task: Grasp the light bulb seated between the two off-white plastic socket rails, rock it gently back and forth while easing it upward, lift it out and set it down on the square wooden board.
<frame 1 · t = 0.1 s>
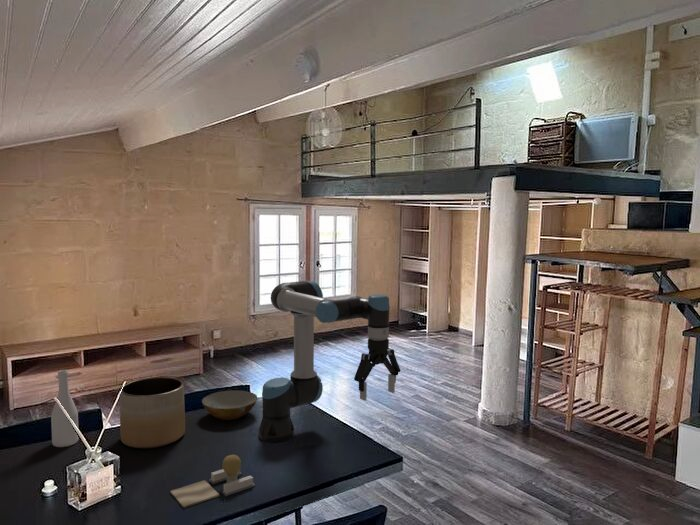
hand: (377, 395, 190), 28 cm above the table, fingers open, 13 cm apart
planter: (153, 437, 219), on the table
square wooden board: (194, 494, 175), on the table
light bulb: (232, 484, 182), on the table
socket rails: (232, 483, 182), on the table
bowl: (230, 416, 244), on the table
wine bottle: (65, 443, 213), on the table
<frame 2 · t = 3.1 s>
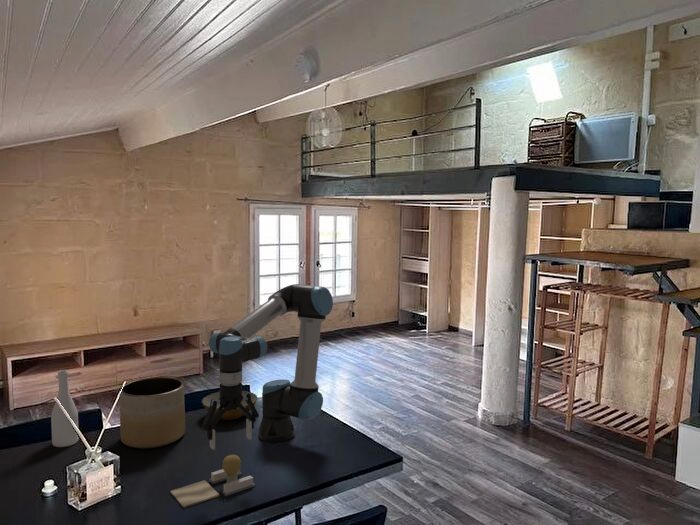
hand: (231, 443, 180), 15 cm above the table, fingers open, 13 cm apart
nothing on the table moved.
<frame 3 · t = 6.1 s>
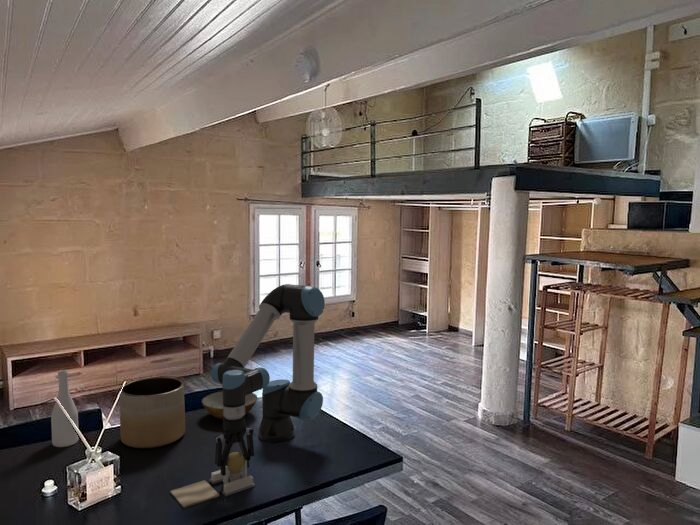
hand: (235, 480, 183), 1 cm above the table, fingers closed on light bulb, 6 cm apart
light bulb: (235, 481, 183), on the table, touching gripper
everything else where it was.
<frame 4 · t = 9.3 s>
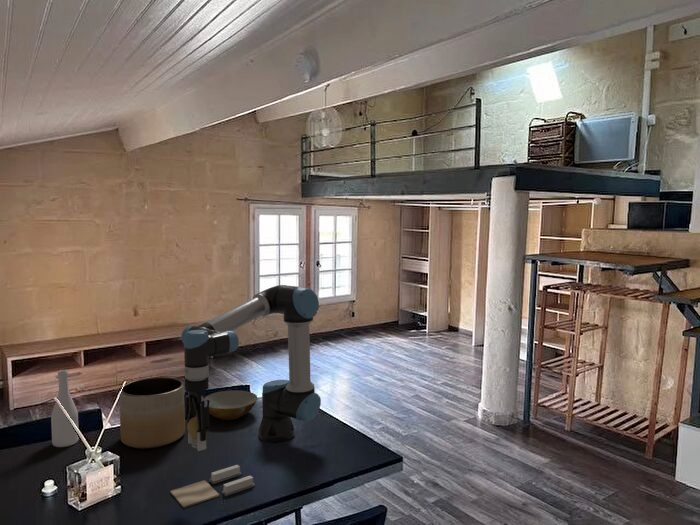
hand: (197, 445, 174), 16 cm above the table, fingers closed on light bulb, 6 cm apart
light bulb: (197, 447, 174), point 16 cm above the table, touching gripper
everything else where it was.
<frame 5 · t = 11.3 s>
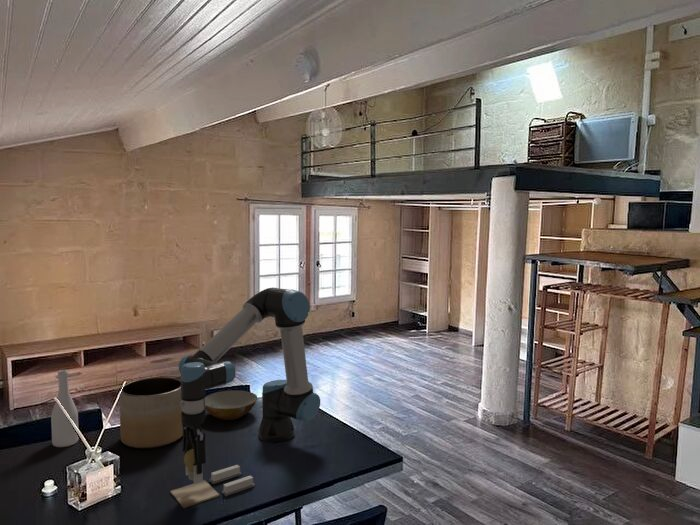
hand: (194, 478, 174), 6 cm above the table, fingers closed on light bulb, 6 cm apart
light bulb: (194, 479, 174), point 5 cm above the table, touching gripper
everything else where it was.
when the fingers open (2 cm above the table, at t = 12.9 s): light bulb moves 1 cm, resting on square wooden board.
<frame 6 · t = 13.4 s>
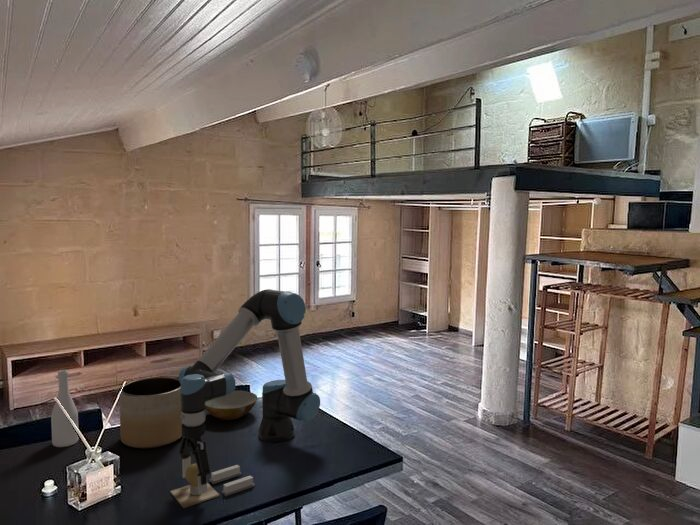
hand: (194, 484, 174), 3 cm above the table, fingers open, 13 cm apart
light bulb: (195, 494, 174), resting on square wooden board
everything else where it was.
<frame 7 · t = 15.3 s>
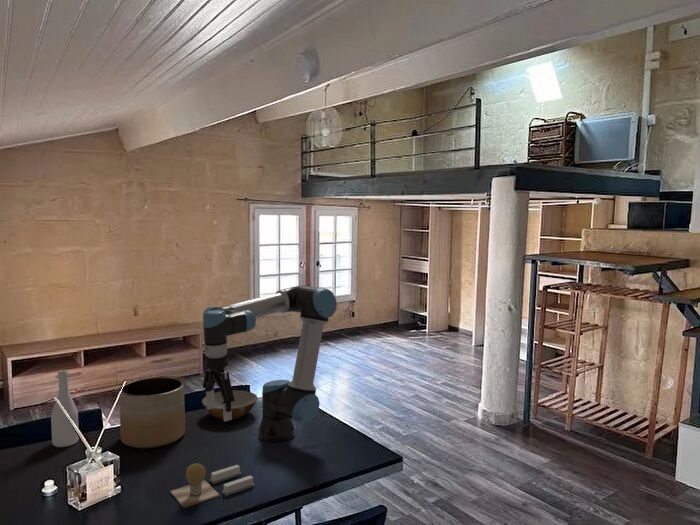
hand: (219, 414, 184), 23 cm above the table, fingers open, 13 cm apart
nothing on the table moved.
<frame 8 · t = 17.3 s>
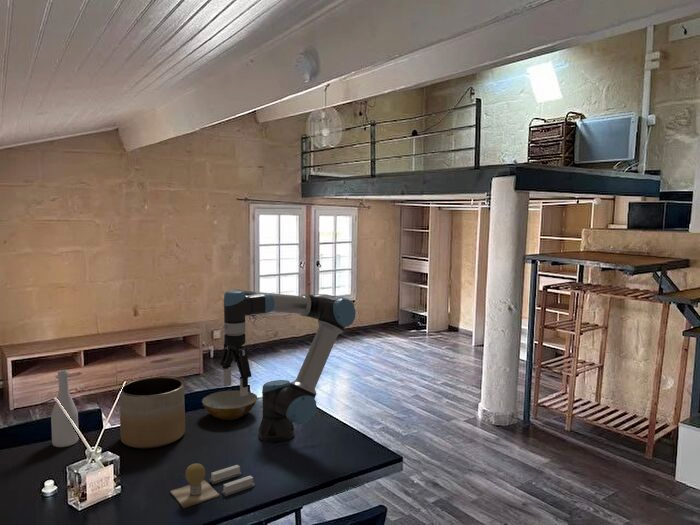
hand: (235, 390, 192), 29 cm above the table, fingers open, 13 cm apart
nothing on the table moved.
at the end: light bulb inside the target area on the square wooden board (0.8 cm from its centre), point 0.4 cm above the square wooden board's base; the gripper is holding nothing; light bulb touching square wooden board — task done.
